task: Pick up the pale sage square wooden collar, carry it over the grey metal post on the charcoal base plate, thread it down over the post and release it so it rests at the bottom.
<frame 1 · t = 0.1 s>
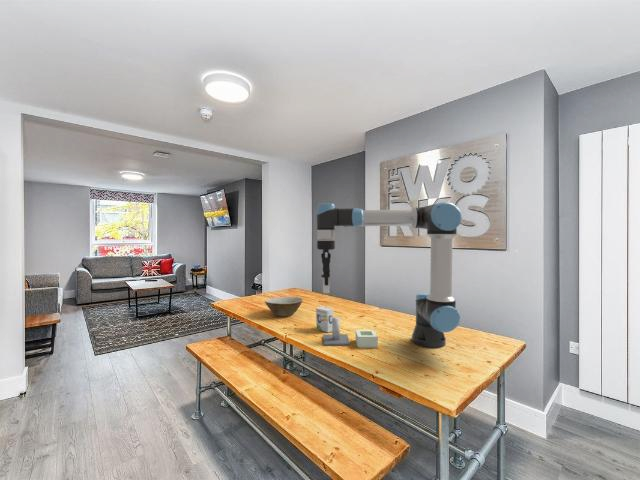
hand: (326, 289, 129), 28 cm above the table, fingers open, 13 cm apart
post: (335, 340, 145), on the table
bowl: (284, 314, 191), on the table
ink box: (324, 330, 161), on the table
collar: (366, 343, 141), on the table
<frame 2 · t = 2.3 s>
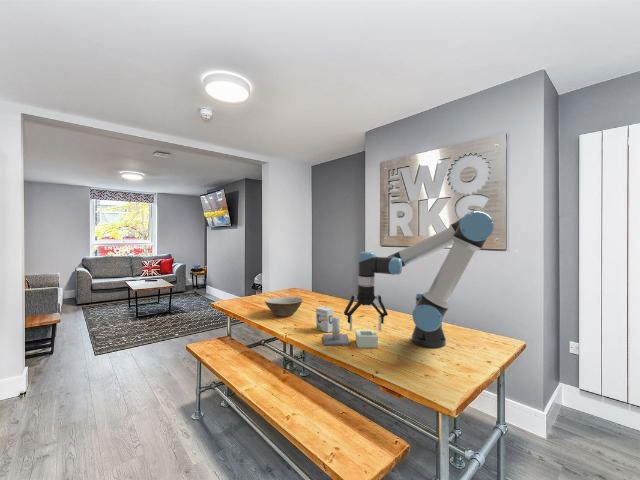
hand: (365, 330, 141), 6 cm above the table, fingers open, 13 cm apart
nothing on the table moved.
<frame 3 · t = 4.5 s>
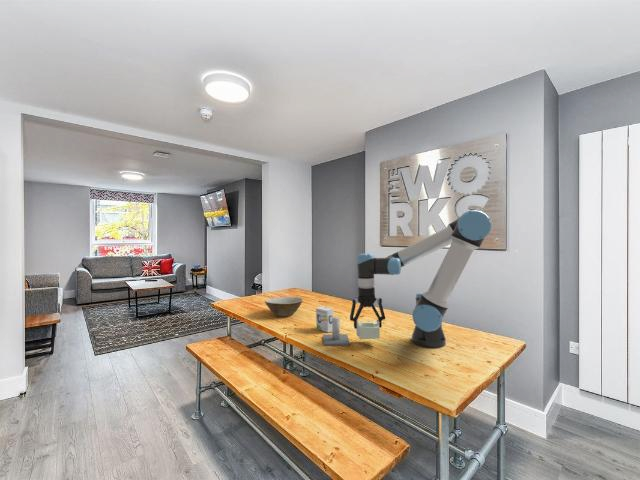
hand: (368, 334, 141), 4 cm above the table, fingers closed on collar, 9 cm apart
collar: (368, 335, 141), point 4 cm above the table, touching gripper
everything else where it was.
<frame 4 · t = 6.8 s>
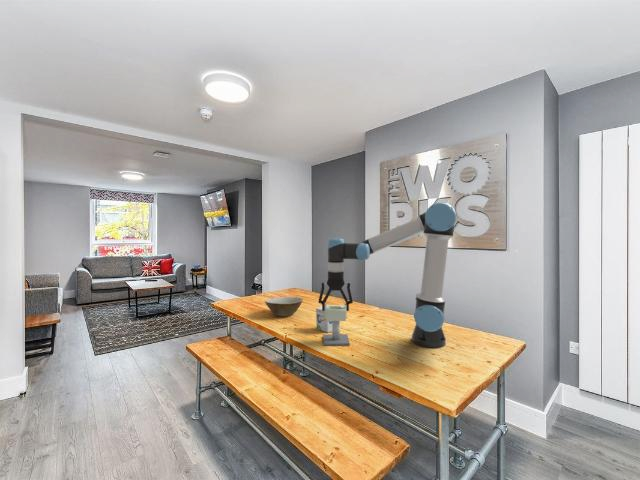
hand: (335, 317, 145), 11 cm above the table, fingers closed on collar, 9 cm apart
collar: (335, 318, 145), point 11 cm above the table, touching gripper
everything else where it was.
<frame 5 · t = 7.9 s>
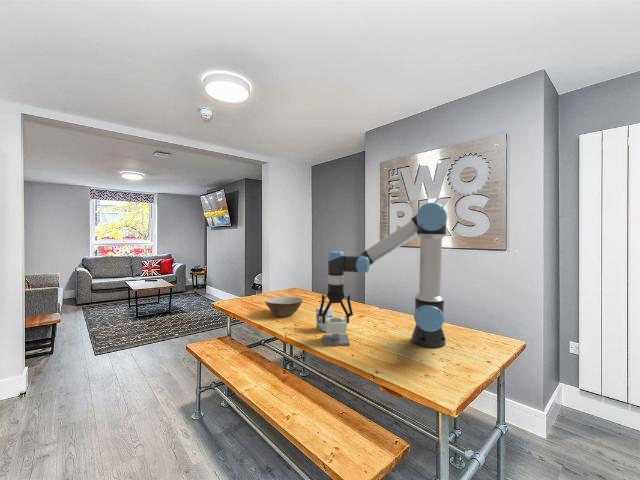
hand: (335, 330, 145), 5 cm above the table, fingers closed on collar, 9 cm apart
collar: (335, 330, 145), point 5 cm above the table, touching gripper
everything else where it was.
when the fingers open (2 cm above the table, at t = 8.9 s): collar drops 1 cm, resting on post.
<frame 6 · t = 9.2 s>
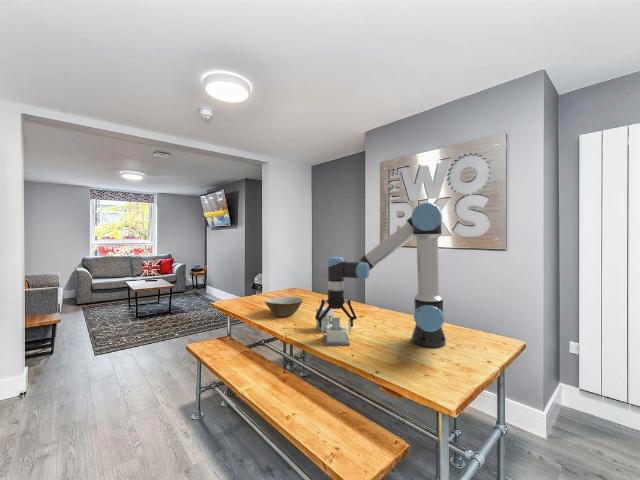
hand: (335, 333, 145), 4 cm above the table, fingers open, 12 cm apart
collar: (336, 338, 145), point 1 cm above the table, touching post
everything else where it was.
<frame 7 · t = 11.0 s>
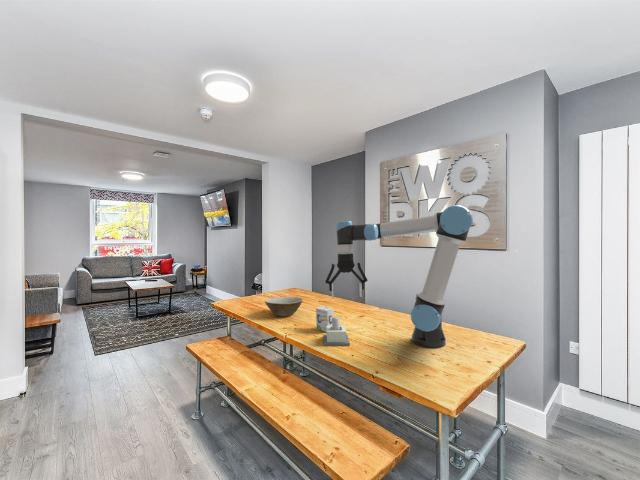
hand: (346, 297, 145), 21 cm above the table, fingers open, 13 cm apart
nothing on the table moved.
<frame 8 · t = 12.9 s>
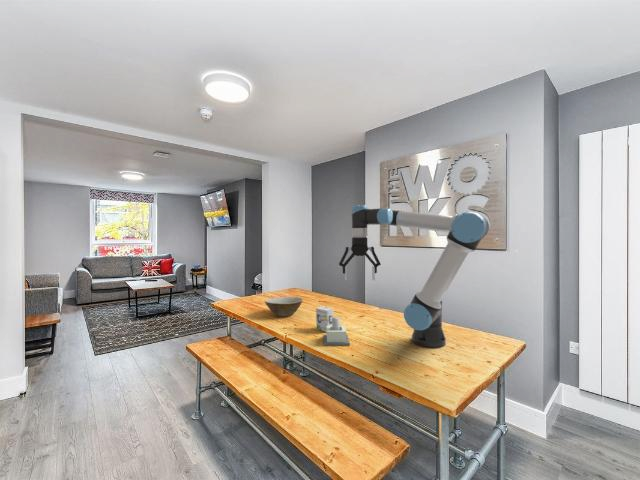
hand: (359, 280, 148), 29 cm above the table, fingers open, 13 cm apart
nothing on the table moved.
at the end: collar 0.1 cm off-centre on the post, point 1.0 cm above the post's base; the gripper is holding nothing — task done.
